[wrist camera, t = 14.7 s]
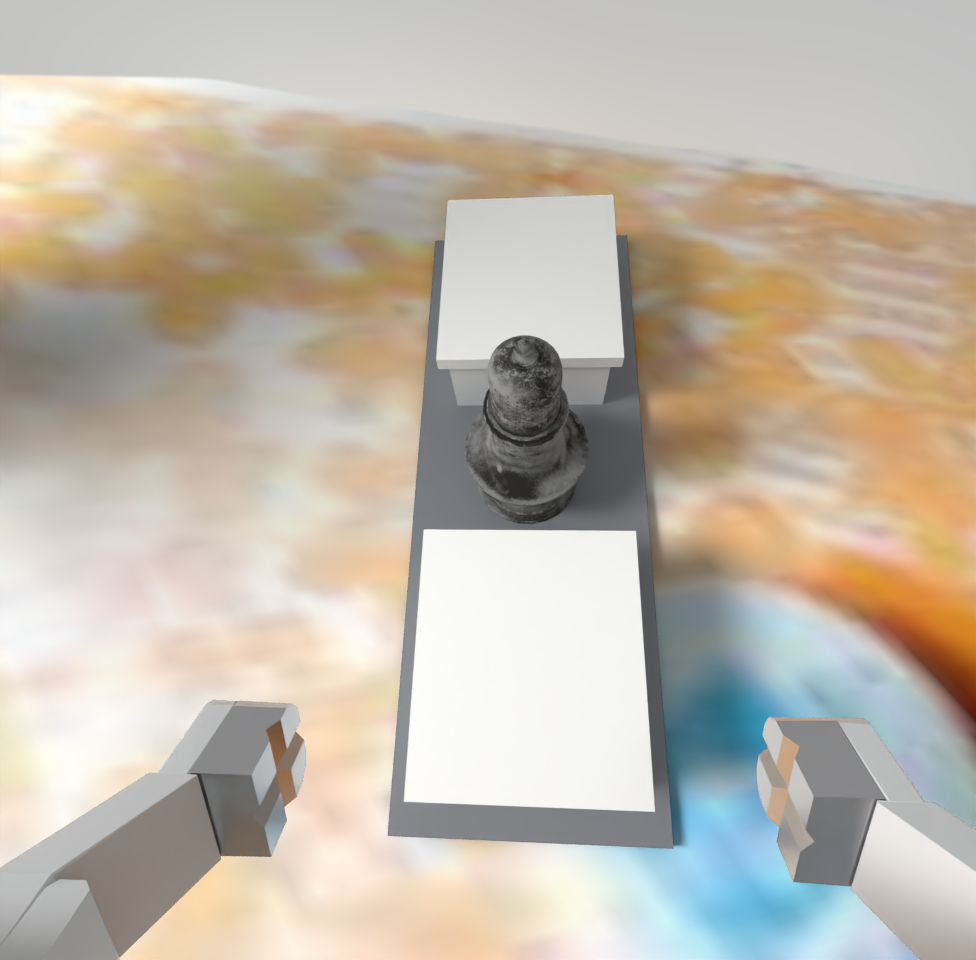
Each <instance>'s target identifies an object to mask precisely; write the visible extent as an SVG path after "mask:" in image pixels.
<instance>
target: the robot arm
mask: <svg viewBox="0 0 976 960" xmlns="http://www.w3.org/2000/svg"><path fill="white" fill-rule="evenodd" d="M299 723H300V716H299V712H298V708H297V706H296V705H294V704H290V703H271V702H253V701H223V700H212V701H211V702H209V703H207V704H206V705H205V706H204V707H203V709H202V710H201V711H200V713H199V714H198V716H197V717H196V719H195V720H194V722H193V723H192V724H191V726H190V727H189V729H188V730H187V732H186V733H185V734H184V736H183V737H182V739H181V740H180V742H179V743H178V744H177V746H176V747H175V749H174V750H173V752H172V753H171V754H170V756H169V757H168V759H167V760H166V762H165V763H164V764H163V766H162V767H161V769H160V770H159V772H158V773H148V774H147V775H145V776H143V777H142V778H140V779H139V780H137V781H136V782H134V783H133V784H131V785H129V786H128V787H126V788H125V789H123V790H122V791H120V792H118V793H117V794H115V795H114V796H112V797H111V798H109V799H107V800H106V801H104V802H103V803H101V804H100V805H98V806H96V807H95V808H93V809H92V810H90V811H89V812H87V813H85V814H84V815H82V816H81V817H79V818H78V819H76V820H75V821H73V822H71V823H70V824H68V825H67V826H65V827H64V828H62V829H60V830H59V831H57V832H56V833H54V834H53V835H51V836H49V837H48V838H46V839H45V840H43V841H42V842H40V843H38V844H37V845H35V846H34V847H32V848H31V849H29V850H27V851H26V852H24V853H23V854H21V855H20V856H18V857H17V858H15V859H13V860H12V861H10V862H9V863H7V864H6V865H4V866H2V867H1V868H0V960H120V958H119V957H120V956H122V955H123V954H124V953H125V952H126V951H127V950H128V949H129V948H130V947H131V946H132V945H133V944H134V943H135V942H136V941H137V940H138V939H139V938H140V937H141V936H142V935H143V934H144V933H145V932H146V931H147V930H148V929H149V928H150V927H151V926H152V925H154V924H155V923H156V922H157V921H158V920H159V919H160V918H161V917H162V916H163V915H164V914H165V913H166V912H167V911H168V910H169V909H170V908H171V907H172V906H173V905H174V904H175V903H176V902H177V901H178V900H179V899H180V898H181V897H182V896H183V895H184V894H186V893H187V892H188V891H189V890H190V889H191V888H192V887H193V886H194V885H195V884H196V883H197V882H198V881H199V880H200V879H201V878H202V877H203V876H204V875H205V874H206V873H207V872H208V871H209V870H210V869H211V868H212V867H213V866H214V865H215V864H216V863H218V862H219V861H220V860H221V856H258V857H271V856H272V854H273V851H274V849H275V847H276V844H277V842H278V840H279V837H280V835H281V833H282V830H283V828H284V825H285V823H286V821H287V819H286V814H285V809H284V807H285V806H286V805H287V804H288V803H290V802H291V801H292V800H293V799H294V798H296V797H297V794H298V792H299V789H300V787H301V784H302V782H303V777H304V772H305V766H306V748H305V742H304V739H303V738H302V737H301V736H300V735H299V734H298V733H296V732H295V731H296V729H297V727H298V725H299ZM762 735H763V737H764V740H765V742H766V744H767V746H768V747H767V748H766V749H765V750H764V751H763V752H761V753H760V754H759V756H758V763H757V770H756V772H757V786H758V791H759V795H760V799H761V803H762V805H763V808H764V810H765V813H766V816H767V817H768V818H770V819H771V820H772V821H773V822H774V823H775V824H777V825H778V826H779V827H780V828H779V833H778V837H777V843H778V846H779V848H780V851H781V853H782V856H783V858H784V861H785V863H786V865H787V868H788V870H789V873H790V875H791V878H792V880H793V882H801V883H814V884H827V885H840V886H852V887H851V890H852V891H853V892H854V893H855V894H856V895H857V896H858V897H859V898H860V899H861V900H862V901H863V902H864V903H865V904H866V905H867V906H868V907H869V908H870V909H871V910H872V911H873V913H874V914H875V915H876V916H877V917H878V918H879V919H880V920H881V921H882V922H883V923H884V924H885V925H886V926H887V927H888V928H889V929H890V930H891V931H892V932H893V933H894V934H895V935H896V936H897V937H898V938H899V939H900V940H901V941H902V942H903V943H904V944H905V945H906V946H907V947H908V948H909V949H910V950H911V951H912V952H913V953H914V954H915V955H916V956H917V957H918V958H919V959H920V960H976V830H975V829H973V828H972V827H970V826H969V825H967V824H966V823H964V822H963V821H961V820H960V819H958V818H957V817H955V816H954V815H952V814H951V813H949V812H948V811H946V810H945V809H943V808H942V807H940V806H939V805H937V804H936V803H929V802H924V800H923V799H922V798H921V796H920V795H919V793H918V792H917V790H916V789H915V787H914V786H913V785H912V783H911V782H910V780H909V779H908V777H907V776H906V775H905V773H904V772H903V770H902V769H901V767H900V766H899V764H898V763H897V762H896V760H895V759H894V757H893V756H892V754H891V753H890V752H889V750H888V749H887V747H886V746H885V744H884V743H883V741H882V740H881V739H880V737H879V736H878V734H877V733H876V731H875V730H874V729H873V727H872V726H871V724H870V723H869V722H867V721H866V720H865V719H863V718H830V719H829V718H796V717H768V719H767V721H766V722H765V725H764V729H763V734H762Z"/></svg>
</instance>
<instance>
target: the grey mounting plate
mask: <svg viewBox="0 0 976 960" xmlns="http://www.w3.org/2000/svg"><path fill="white" fill-rule="evenodd" d="M520 335H530V336H534V337H538V338H541V339H543V340H545V341H547V342H548V343H549V344H550V345H551V346H553V347H554V349H555V350H556V352H557V353H558V354H559V358H560V361H561V364H562V374H563V375H562V388H563V390H564V391H565V393H566V396H567V399H568V402H569V409H570V410H571V411H573V412H574V413H575V414H576V415H577V417H578V418H579V420H580V421H581V423H582V424H583V426H584V428H585V431H586V434H587V438H588V441H589V457H588V460H587V464H586V467H585V471H584V472H583V474H582V476H581V477H580V479H579V480H578V482H577V486H576V489H575V493H574V496H573V497H572V499H571V500H570V502H569V504H568V505H567V507H565V508H564V509H563V510H562V511H561V512H560V513H559V514H558V515H556V516H554V517H552V518H550V519H548V520H546V521H543V522H539V523H534V524H519V523H515V522H512V521H508V520H505V519H504V518H502V517H500V516H498V515H497V514H495V513H494V512H493V511H492V510H491V509H490V508H489V507H488V506H487V505H486V504H485V502H484V500H483V498H482V497H481V495H480V493H479V488H478V484H477V483H476V482H475V481H474V479H473V477H472V475H471V473H470V472H469V470H468V467H467V462H466V458H465V440H466V437H467V434H468V431H469V428H470V426H471V424H472V423H473V421H474V420H475V419H476V417H477V416H478V414H479V413H480V412H481V411H483V401H484V398H485V395H486V392H487V391H488V389H489V381H488V364H489V361H490V358H491V355H492V353H493V352H494V350H495V349H496V347H497V346H499V345H500V344H501V343H502V342H503V341H505V340H507V339H510V338H512V337H516V336H520ZM388 836H402V837H424V838H446V839H469V840H491V841H513V842H536V843H558V844H580V845H603V846H625V847H647V848H670V849H673V836H672V822H671V809H670V796H669V783H668V770H667V757H666V744H665V731H664V718H663V705H662V692H661V678H660V665H659V652H658V639H657V626H656V613H655V600H654V587H653V574H652V561H651V548H650V534H649V521H648V508H647V495H646V482H645V469H644V456H643V443H642V430H641V417H640V403H639V390H638V377H637V364H636V351H635V338H634V325H633V312H632V299H631V286H630V273H629V259H628V246H627V235H625V236H616V228H615V213H614V198H613V195H586V196H556V197H526V198H496V199H465V200H448V204H447V218H446V231H445V241H436V242H435V255H434V267H433V280H432V292H431V304H430V317H429V329H428V342H427V354H426V366H425V379H424V391H423V404H422V416H421V428H420V441H419V453H418V466H417V478H416V490H415V503H414V515H413V528H412V540H411V552H410V565H409V577H408V589H407V602H406V614H405V627H404V639H403V651H402V664H401V676H400V689H399V701H398V713H397V726H396V738H395V751H394V763H393V775H392V788H391V800H390V813H389V825H388Z"/></svg>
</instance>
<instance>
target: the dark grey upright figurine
mask: <svg viewBox="0 0 976 960" xmlns="http://www.w3.org/2000/svg"><path fill="white" fill-rule="evenodd" d="M562 375H563V374H562V364H561V361H560V358H559V354H558V353H557V352H556V350H555V349H554V347H553V346H551V345H550V344H549V343H548V342H547V341H545V340H543V339H541V338H538V337H534V336H530V335H520V336H516V337H512V338H510V339H507V340H505V341H503V342H502V343H501V344H500V345H499V346H497V347H496V349H495V350H494V352H493V353H492V355H491V358H490V361H489V364H488V381H489V389H488V391H487V392H486V395H485V398H484V401H483V411H481V412H480V413H479V414H478V416H477V417H476V419H475V420H474V421H473V423H472V424H471V426H470V428H469V431H468V434H467V437H466V440H465V458H466V462H467V467H468V470H469V472H470V473H471V475H472V477H473V479H474V481H475V482H476V483H477V484H478V488H479V493H480V495H481V497H482V498H483V500H484V502H485V504H486V505H487V506H488V507H489V508H490V509H491V510H492V511H493V512H494V513H495V514H497V515H498V516H500V517H502V518H504V519H505V520H508V521H512V522H515V523H519V524H534V523H539V522H543V521H546V520H548V519H550V518H552V517H554V516H556V515H558V514H559V513H560V512H561V511H562V510H563V509H564V508H565V507H567V505H568V504H569V502H570V500H571V499H572V497H573V496H574V493H575V489H576V486H577V482H578V480H579V479H580V477H581V476H582V474H583V472H584V471H585V467H586V464H587V460H588V457H589V441H588V438H587V434H586V431H585V428H584V426H583V424H582V423H581V421H580V420H579V418H578V417H577V415H576V414H575V413H574V412H573V411H571V410H570V409H569V402H568V399H567V396H566V393H565V391H564V390H563V388H562Z"/></svg>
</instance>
